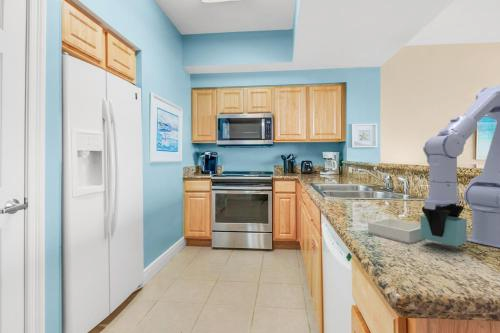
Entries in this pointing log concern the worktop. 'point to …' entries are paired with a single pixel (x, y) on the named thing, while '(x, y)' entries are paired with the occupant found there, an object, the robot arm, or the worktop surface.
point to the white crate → (396, 230)
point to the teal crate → (447, 231)
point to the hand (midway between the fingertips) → (442, 233)
